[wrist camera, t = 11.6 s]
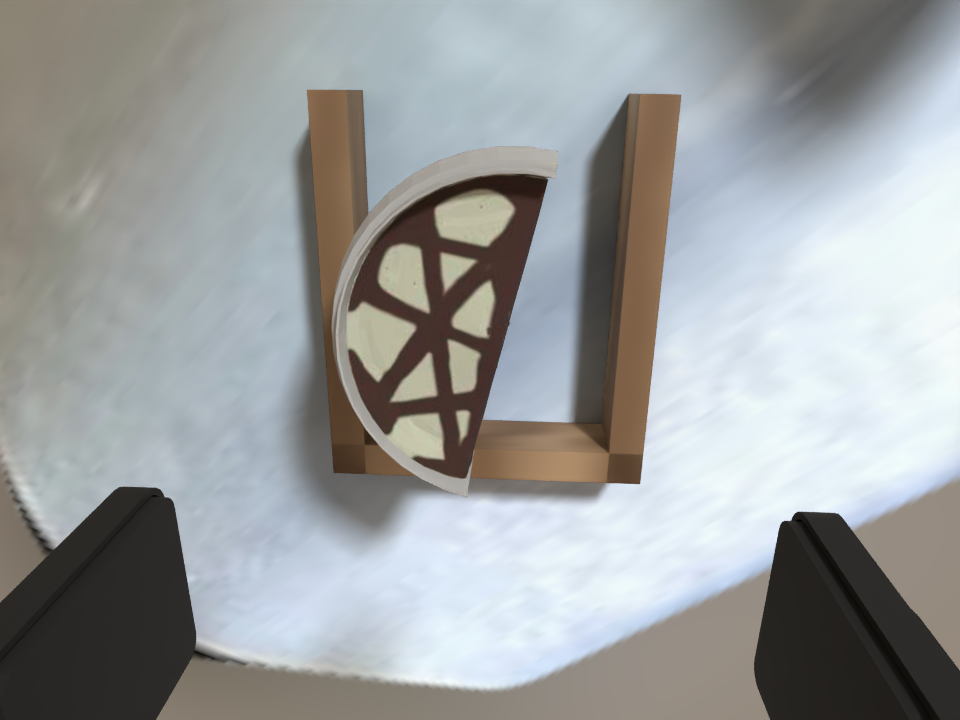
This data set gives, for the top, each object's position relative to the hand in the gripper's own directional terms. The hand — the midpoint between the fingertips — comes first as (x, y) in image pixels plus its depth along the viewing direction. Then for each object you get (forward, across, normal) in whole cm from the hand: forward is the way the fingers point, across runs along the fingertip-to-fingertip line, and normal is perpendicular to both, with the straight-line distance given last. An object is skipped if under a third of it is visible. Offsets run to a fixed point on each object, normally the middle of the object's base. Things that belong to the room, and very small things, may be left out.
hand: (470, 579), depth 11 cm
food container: (+22, +3, 0) cm, 23 cm away
